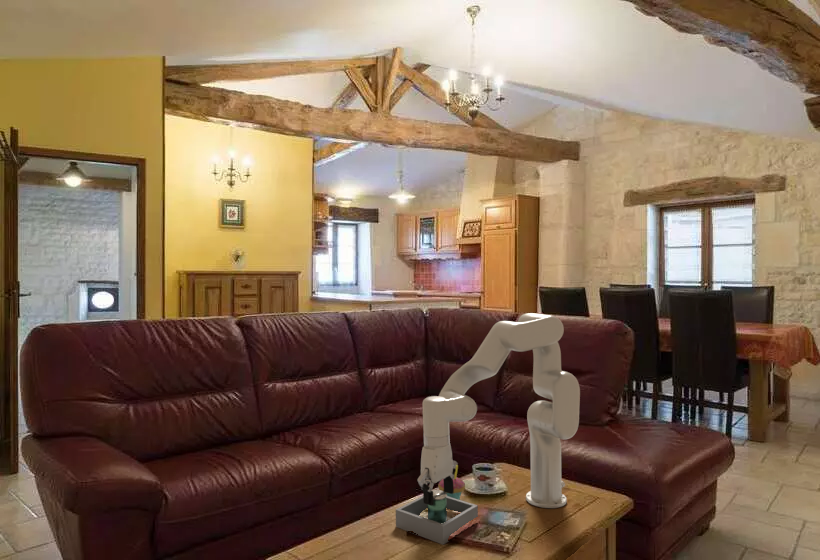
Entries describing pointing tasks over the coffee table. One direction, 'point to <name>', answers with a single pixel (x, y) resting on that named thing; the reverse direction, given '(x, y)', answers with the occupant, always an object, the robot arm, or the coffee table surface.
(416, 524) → the bin
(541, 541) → the coffee table surface
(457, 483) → the cupcake
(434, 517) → the tea tin
